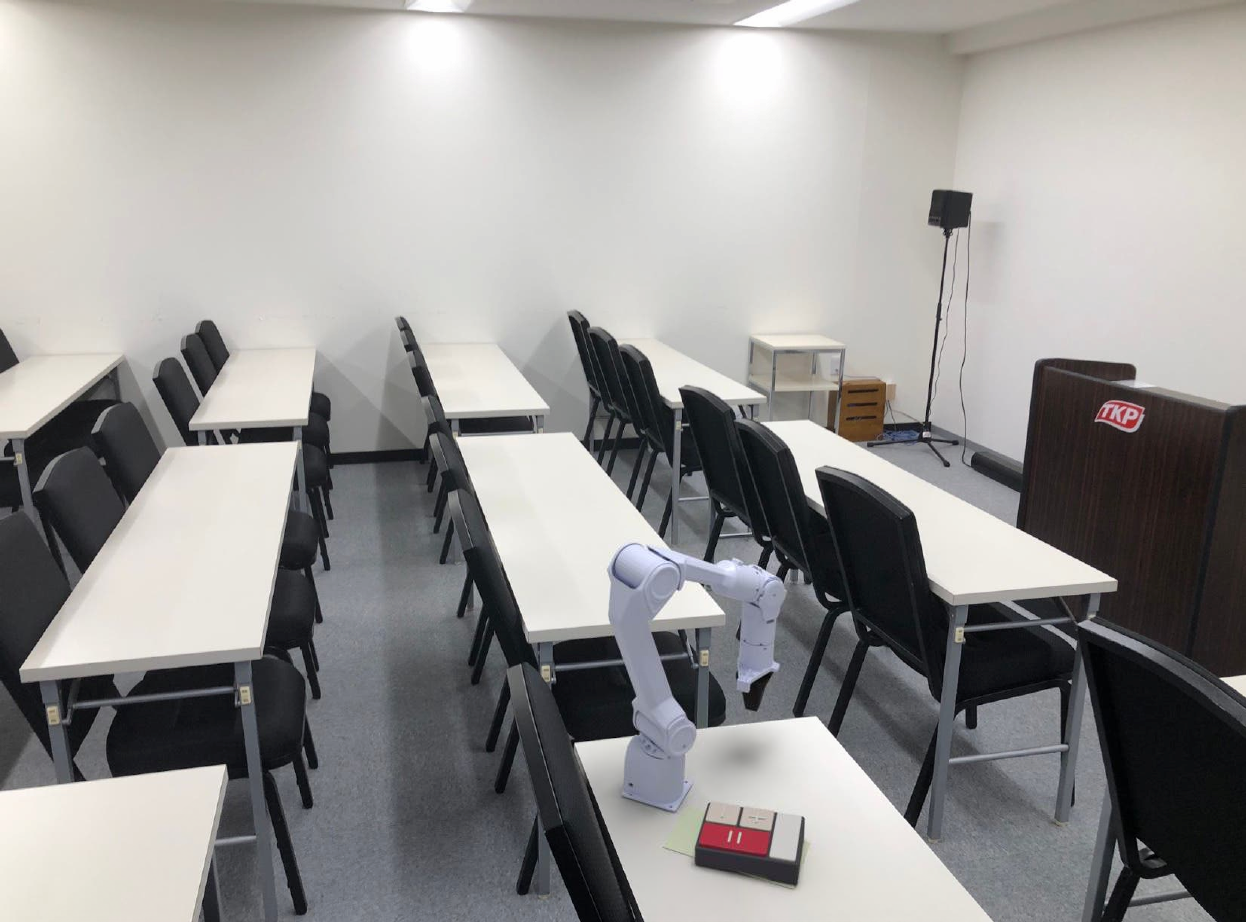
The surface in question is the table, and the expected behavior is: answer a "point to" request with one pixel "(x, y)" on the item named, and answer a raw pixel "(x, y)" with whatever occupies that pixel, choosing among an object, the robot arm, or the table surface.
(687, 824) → the mat
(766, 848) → the button box
